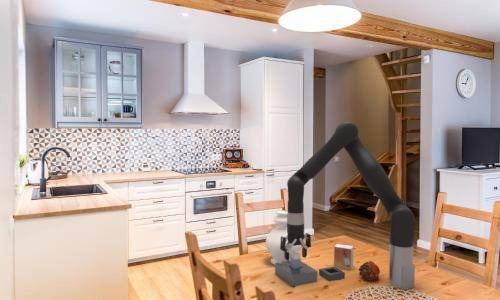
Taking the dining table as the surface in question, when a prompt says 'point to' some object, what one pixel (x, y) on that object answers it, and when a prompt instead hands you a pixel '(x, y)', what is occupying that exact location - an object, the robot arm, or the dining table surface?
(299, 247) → the decorative vase
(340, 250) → the small box
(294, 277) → the port
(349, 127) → the robot arm
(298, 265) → the plug
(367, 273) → the dragon fruit
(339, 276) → the holster
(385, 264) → the dining table surface
